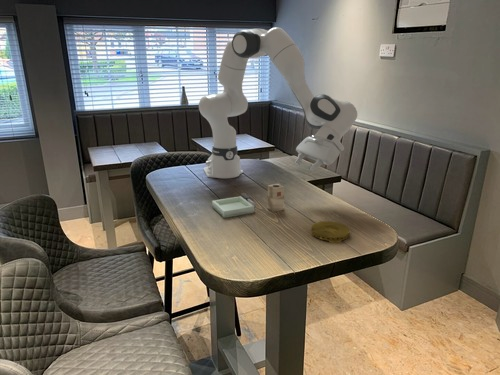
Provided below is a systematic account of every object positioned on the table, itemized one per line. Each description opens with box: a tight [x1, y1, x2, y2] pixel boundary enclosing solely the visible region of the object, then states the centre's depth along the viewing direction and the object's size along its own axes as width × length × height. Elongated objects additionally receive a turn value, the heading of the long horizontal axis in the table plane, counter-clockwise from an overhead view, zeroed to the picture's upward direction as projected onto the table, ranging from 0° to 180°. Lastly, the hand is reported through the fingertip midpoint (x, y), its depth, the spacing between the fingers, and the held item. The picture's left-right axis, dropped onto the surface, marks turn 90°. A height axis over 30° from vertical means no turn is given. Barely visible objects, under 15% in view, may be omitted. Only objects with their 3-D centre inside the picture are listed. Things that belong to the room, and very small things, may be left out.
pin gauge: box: [240, 192, 257, 207], centre depth 149 cm, size 11×2×2 cm, turn 26°
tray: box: [211, 195, 255, 219], centre depth 141 cm, size 12×12×2 cm
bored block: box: [267, 183, 285, 212], centre depth 141 cm, size 5×4×9 cm
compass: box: [311, 220, 351, 243], centre depth 121 cm, size 12×12×2 cm
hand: (303, 166), depth 142 cm, fingers open, 8 cm apart
